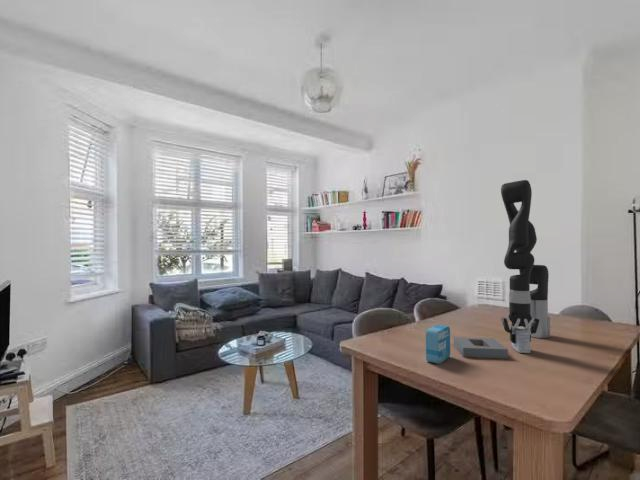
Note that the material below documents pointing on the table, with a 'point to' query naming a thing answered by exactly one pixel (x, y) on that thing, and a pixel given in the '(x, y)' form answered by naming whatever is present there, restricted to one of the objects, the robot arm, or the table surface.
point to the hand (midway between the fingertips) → (520, 343)
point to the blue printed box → (437, 344)
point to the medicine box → (522, 340)
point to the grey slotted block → (480, 347)
